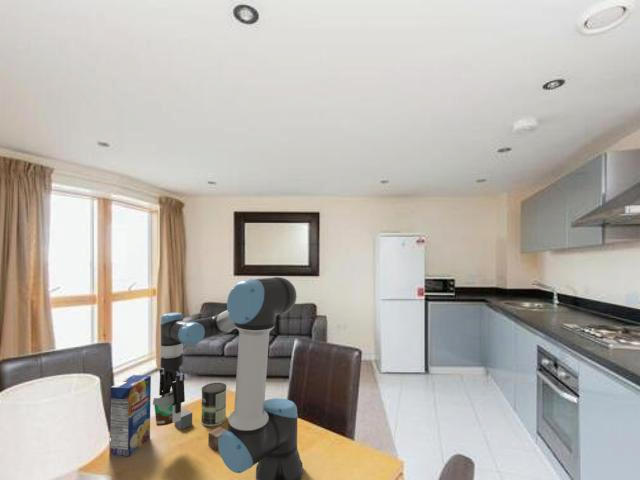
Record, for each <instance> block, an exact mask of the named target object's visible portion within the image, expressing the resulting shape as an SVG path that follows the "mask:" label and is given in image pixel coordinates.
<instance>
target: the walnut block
mask: <svg viewBox="0 0 640 480" xmlns="http://www.w3.org/2000/svg"><path fill="white" fill-rule="evenodd" d="M226 430H227V429H225V428H223V427H221V426H218V427H216V428H215V429H212V430H211V431H209V432H208V447H209V448H211V449H212V450H214V451H219V449H218V438H219V436H220V434H222V432H223V431H226Z"/></svg>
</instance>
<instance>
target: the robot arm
mask: <svg viewBox="0 0 640 480" xmlns="http://www.w3.org/2000/svg"><path fill="white" fill-rule="evenodd" d="M296 301H297V289H296V288H295V285H294V284H293V283H292V282H291V281H290V280H288V279H287V278H284V277H279V276H278V277H277V276H276V277H275V276H274V277H265V278H250V279H247V280H246V279H245V280H242V281H239V282H237V283H235V285H234V286H233V287H231V290H230V292H229V293H228V297H227V299H226V310H224V311H222V312H221V313H219V314H216V315H213V316H209V317H204V318H203V317H202V318H199V319H193V320H184V317H183V314H182V313H181V312H168V313H163V314H162V315H161V316H160V356H161V357H160V369H159V393H158V394H159V396H160V397H161V396H163V395H164V394H165V393H167V392H170V391H172V393H173V397H174V403H173V404H172V405H173V413H172V423H171V424H175V422H177V421H180V420H181V411H182V403H184V402H185V399H186V398H185V397H186V396H185V376H186V375H185V373H183V374H182V373H181V371H180V367H181V366H182V365H183V364H184V361H183V359H184V356H183V352H184V351H183V346H184V345H189V346H190V345H192V346H193V345H198V344H199V343H201V341H203V340H206V339H209V338H213V337H218V336H222V335H226V334H229V333H231V332H232V331H233V330H235V329H237V330H238V332H239V334H238V347H237V348H238V350H237V351H238V352H237V363H236V377H235V379H236V380H235V382H236V383H235V394H234V409H233V411H232V412H231V413H230V414H229V416H228V418H227V419H228V421H227V429H225V430H226V431H223V432H222V434H220V436H219V438H218V449H219V450H218V452H219V455H220V457H221V460H222V462H223V463H224V465H225V466H226V468H228V469H229V470H230V471H231V472H233V473H235V474H241V473H242V474H243V473H244V472H245V471H247V470H250V469H251V468H252V467H254V466H255V465H256V468H255V480H302V478H303V469H304V466H303V462H302V459H301V456H300V453H299V449H298V417H299V416H298V407H297V404H296V403H295V402H294V401H292V400H291V399H290V400H289V399H286V398H280V397H275V398H269V399H266V386H267V374H268V373H267V370H268V357H269V355H268V354H269V343H270V332H271V331H272V330H273V329H274V328H275V327H276V317H277V316H280V315H283V314H287V313H288V312H290V311H291V310H292V309H293V307H294V306H295V304H296Z"/></svg>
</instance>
